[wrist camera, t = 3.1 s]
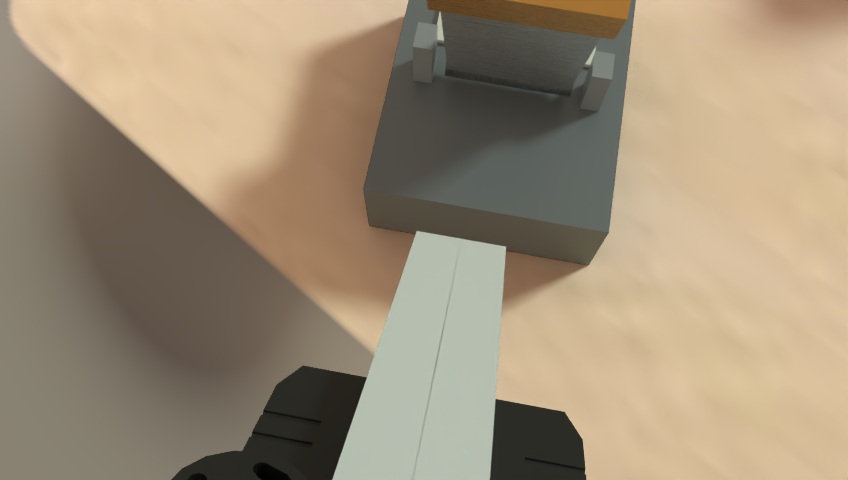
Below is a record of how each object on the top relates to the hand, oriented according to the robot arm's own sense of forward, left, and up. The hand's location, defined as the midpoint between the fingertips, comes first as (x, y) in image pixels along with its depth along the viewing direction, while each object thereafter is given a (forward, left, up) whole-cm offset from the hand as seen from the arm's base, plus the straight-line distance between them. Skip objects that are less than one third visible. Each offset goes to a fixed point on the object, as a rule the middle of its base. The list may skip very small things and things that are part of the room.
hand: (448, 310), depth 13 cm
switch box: (-6, -14, -20) cm, 25 cm away
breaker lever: (-6, -14, -15) cm, 21 cm away
